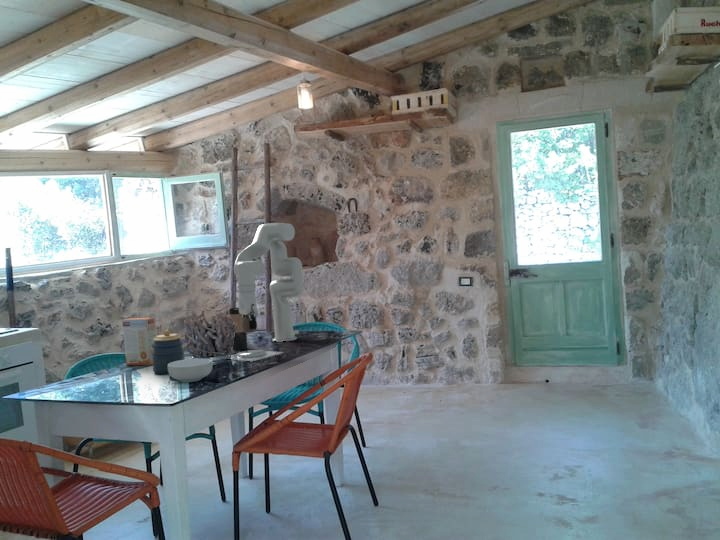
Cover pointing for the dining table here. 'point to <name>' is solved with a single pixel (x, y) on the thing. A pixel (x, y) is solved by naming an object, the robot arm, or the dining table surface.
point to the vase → (247, 325)
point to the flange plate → (253, 355)
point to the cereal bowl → (190, 369)
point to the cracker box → (139, 340)
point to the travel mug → (238, 330)
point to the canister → (166, 351)
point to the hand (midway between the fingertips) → (249, 328)
